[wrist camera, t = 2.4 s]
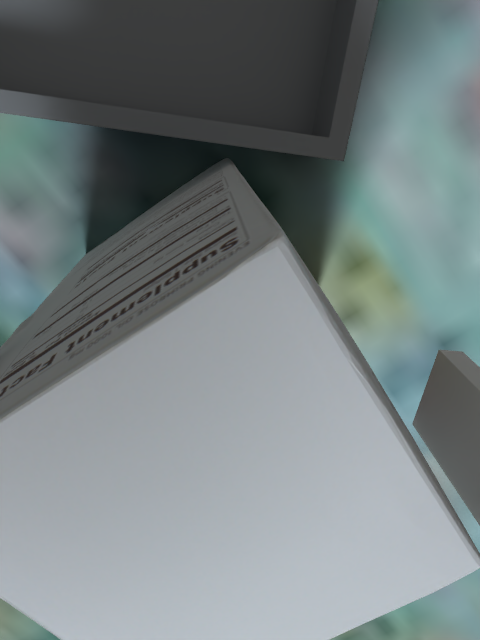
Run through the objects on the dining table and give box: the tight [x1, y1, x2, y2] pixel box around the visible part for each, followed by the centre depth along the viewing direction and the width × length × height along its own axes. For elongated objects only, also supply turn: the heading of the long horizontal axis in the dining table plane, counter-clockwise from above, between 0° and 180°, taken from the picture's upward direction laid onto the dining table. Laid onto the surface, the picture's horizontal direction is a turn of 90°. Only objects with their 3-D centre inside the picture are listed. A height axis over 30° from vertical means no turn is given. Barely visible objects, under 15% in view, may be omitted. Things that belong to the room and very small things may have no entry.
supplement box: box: [0, 158, 480, 640], centre depth 17 cm, size 10×9×17 cm
